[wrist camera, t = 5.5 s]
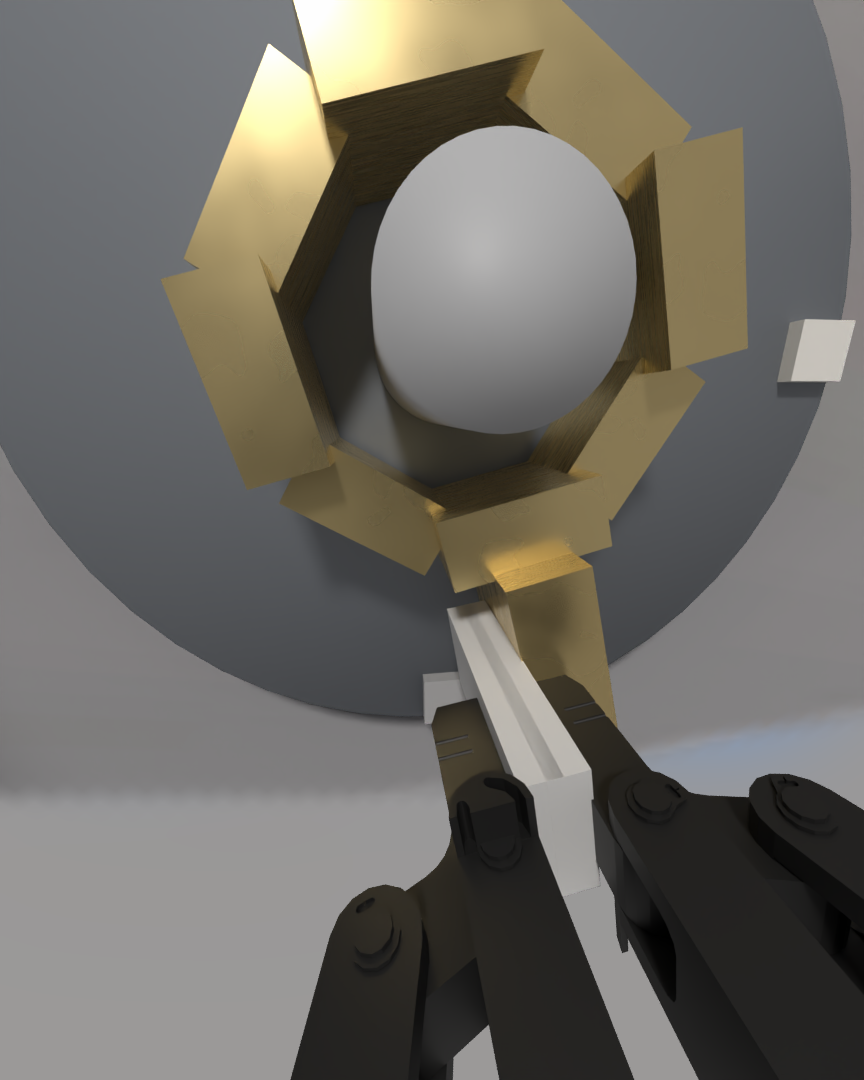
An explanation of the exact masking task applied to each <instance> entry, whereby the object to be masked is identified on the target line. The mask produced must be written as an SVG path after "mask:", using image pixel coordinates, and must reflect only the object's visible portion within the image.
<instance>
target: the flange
mask: <svg viewBox="0 0 864 1080" xmlns="http://www.w3.org/2000/svg"><path fill="white" fill-rule="evenodd" d="M562 1H563V2H564V3H565V4H566V5H567V6H568V7H569V8H570V9H571V10H572V11H573V12H574V13H575V14H577V15H578V16H579V17H580V18H581V19H582V20H583V21H584V22H585V23H586V24H587V25H588V26H589V27H590V28H591V29H592V30H593V31H594V32H595V33H596V34H597V35H598V36H599V37H600V38H601V39H602V40H603V41H604V42H605V43H606V44H607V45H608V46H609V47H610V48H611V49H612V50H613V51H614V52H616V53H617V54H618V55H619V56H620V57H621V58H622V59H623V60H624V61H625V62H626V63H627V64H628V65H629V66H630V67H631V68H632V69H633V70H634V71H635V72H636V73H637V74H638V75H639V76H640V77H641V78H642V79H643V80H644V81H645V82H646V83H647V84H648V85H649V86H650V87H651V88H652V89H653V90H654V91H656V92H657V93H658V94H659V95H660V96H661V97H662V98H663V99H664V100H665V101H666V102H667V103H668V104H669V105H670V106H671V107H672V108H673V109H674V110H675V111H676V112H677V113H678V114H679V115H680V116H681V117H682V118H683V119H684V120H685V121H686V122H687V123H688V124H689V125H690V126H691V129H690V131H689V132H688V134H687V136H686V138H685V139H684V141H683V143H684V142H688V141H692V140H695V139H699V138H703V137H707V136H711V135H715V134H718V133H722V132H726V131H730V130H734V129H738V128H741V127H743V164H744V206H745V248H746V290H747V332H748V349H744V350H740V351H737V352H733V353H730V354H726V355H723V356H719V357H716V358H712V359H709V360H705V361H702V362H698V363H694V364H691V365H687V366H686V367H687V368H688V369H690V370H691V371H692V372H694V373H695V374H696V375H698V376H699V377H700V378H701V379H703V380H704V381H705V384H704V385H703V386H702V388H701V389H700V391H699V392H698V394H697V395H696V397H695V398H694V400H693V401H692V403H691V404H690V406H689V407H688V409H687V410H686V412H685V413H684V415H683V416H682V418H681V419H680V421H679V422H678V423H677V425H676V426H675V428H674V429H673V431H672V432H671V434H670V435H669V437H668V438H667V440H666V441H665V443H664V444H663V446H662V447H661V449H660V450H659V452H658V453H657V455H656V456H655V457H654V459H653V460H652V462H651V463H650V465H649V466H648V468H647V469H646V471H645V472H644V474H643V475H642V477H641V478H640V480H639V481H638V483H637V484H636V486H635V487H634V489H633V490H632V492H631V493H630V494H629V496H628V497H627V499H626V500H625V502H624V503H623V505H622V506H621V508H620V509H619V511H618V512H617V514H616V515H615V517H614V518H613V520H610V519H609V526H610V533H611V540H612V546H611V547H608V548H605V549H601V550H598V551H595V552H591V553H588V554H585V555H581V556H579V557H580V558H581V559H583V560H584V561H586V562H587V563H588V564H590V565H591V566H593V573H594V579H595V585H596V592H597V598H598V605H599V611H600V618H601V624H602V631H603V637H604V644H605V650H606V657H607V663H608V664H610V663H612V662H613V661H615V660H617V659H618V658H620V657H621V656H623V655H624V654H626V653H627V652H629V651H631V650H632V649H634V648H635V647H637V646H638V645H640V644H641V643H643V642H645V641H646V640H648V639H649V638H650V637H651V636H653V635H654V634H655V633H656V632H658V631H659V630H660V629H661V628H663V627H664V626H665V625H666V624H668V623H669V622H670V621H671V620H673V619H674V618H675V617H676V616H678V615H679V614H680V613H681V612H683V611H684V610H685V609H686V608H687V607H688V606H689V605H690V604H691V603H692V602H693V601H694V600H695V599H696V598H697V597H698V596H699V595H700V594H701V593H702V592H703V591H704V590H705V589H706V588H707V587H708V586H709V585H710V584H711V583H712V582H713V581H714V580H715V579H716V578H717V577H718V576H719V574H720V573H721V572H722V571H723V570H724V568H725V567H726V566H727V565H728V564H729V562H730V561H731V560H732V559H733V558H734V556H735V555H736V554H737V553H738V552H739V550H740V549H741V548H742V547H743V545H744V544H745V543H746V542H747V540H748V539H749V537H750V536H751V534H752V533H753V531H754V530H755V528H756V527H757V525H758V524H759V522H760V521H761V519H762V518H763V517H764V515H765V514H766V512H767V511H768V509H769V508H770V506H771V505H772V503H773V502H774V500H775V498H776V496H777V494H778V492H779V491H780V489H781V487H782V485H783V483H784V481H785V479H786V477H787V476H788V474H789V472H790V470H791V468H792V466H793V464H794V463H795V461H796V459H797V457H798V455H799V452H800V450H801V448H802V445H803V443H804V440H805V438H806V436H807V433H808V431H809V428H810V426H811V423H812V421H813V419H814V416H815V414H816V411H817V409H818V406H819V403H820V400H821V397H822V393H823V390H824V387H825V383H826V382H837V381H840V380H841V376H842V372H843V368H844V364H845V360H846V356H847V352H848V349H849V345H850V341H851V337H852V333H853V329H854V325H855V321H856V320H841V318H842V313H843V307H844V302H845V297H846V288H847V277H848V266H849V255H850V244H851V179H850V164H849V156H848V147H847V139H846V131H845V123H844V115H843V107H842V101H841V97H840V93H839V89H838V85H837V80H836V76H835V72H834V68H833V64H832V59H831V55H830V51H829V47H828V43H827V39H826V35H825V32H824V30H823V27H822V24H821V21H820V19H819V16H818V13H817V11H816V8H815V5H814V2H813V0H562ZM268 44H270V45H271V46H272V47H274V48H275V49H276V50H278V51H279V52H280V53H281V54H283V55H284V56H285V57H287V58H288V59H289V60H291V61H292V62H293V63H294V64H296V65H297V66H298V67H300V68H301V69H302V70H303V71H305V72H306V68H305V63H304V59H303V54H302V49H301V44H300V40H299V35H298V30H297V25H296V20H295V16H294V11H293V6H292V1H291V0H0V445H1V447H2V449H3V451H4V453H5V455H6V457H7V459H8V461H9V463H10V465H11V467H12V469H13V470H14V472H15V474H16V475H17V477H18V478H19V480H20V481H21V483H22V484H23V486H24V487H25V489H26V490H27V492H28V493H29V495H30V496H31V498H32V499H33V501H34V502H35V504H36V505H37V507H38V508H39V510H40V511H41V513H42V514H43V516H44V517H45V519H46V520H47V522H48V523H49V525H50V526H51V527H52V528H53V529H54V530H55V532H56V533H57V534H58V535H59V536H60V538H61V539H62V540H63V541H64V542H65V543H66V545H67V546H68V547H69V548H70V549H71V551H72V552H73V553H74V554H75V555H76V556H77V558H78V559H79V560H80V561H81V562H82V563H83V565H84V566H85V567H86V568H87V569H88V571H89V572H90V573H91V574H93V575H94V576H95V577H96V578H97V579H98V580H99V581H100V582H101V583H102V584H103V585H104V586H105V587H106V588H107V589H109V590H110V591H111V592H112V593H113V594H114V595H115V596H116V597H117V598H118V599H119V600H120V601H121V602H122V603H123V604H125V605H126V606H127V607H128V608H129V609H130V610H131V611H132V612H133V613H135V614H136V615H137V616H139V617H140V618H142V619H143V620H144V621H146V622H147V623H148V624H150V625H151V626H152V627H154V628H155V629H156V630H158V631H159V632H160V633H162V634H163V635H164V636H166V637H167V638H168V639H170V640H171V641H172V642H174V643H175V644H177V645H178V646H180V647H182V648H184V649H185V650H187V651H189V652H190V653H192V654H194V655H196V656H197V657H199V658H201V659H203V660H204V661H206V662H208V663H209V664H211V665H213V666H215V667H216V668H218V669H220V670H222V671H224V672H226V673H229V674H231V675H233V676H235V677H238V678H240V679H242V680H244V681H247V682H249V683H251V684H254V685H256V686H258V687H260V688H263V689H265V690H268V691H271V692H274V693H277V694H280V695H284V696H287V697H290V698H293V699H297V700H300V701H303V702H306V703H309V704H313V705H318V706H323V707H329V708H334V709H339V710H344V711H349V712H355V713H363V714H376V715H389V716H402V717H404V716H424V723H425V724H431V723H432V721H433V718H434V715H435V712H436V709H437V707H441V706H445V705H449V704H453V703H457V702H461V701H465V700H466V697H465V694H464V691H463V688H462V685H461V682H460V677H459V671H458V666H457V660H456V655H455V650H454V644H453V639H452V633H451V628H450V623H449V617H448V612H447V609H448V608H453V607H457V606H461V605H466V604H470V603H475V602H479V597H478V593H477V589H476V587H474V588H471V589H467V590H464V591H461V592H457V593H455V592H454V589H453V587H452V585H451V583H450V580H449V578H448V576H447V573H446V571H445V569H444V566H443V564H442V562H441V559H440V557H439V555H438V554H437V556H436V558H435V559H434V561H433V563H432V565H431V566H430V568H429V570H428V571H427V573H426V575H425V576H424V575H422V574H420V573H418V572H416V571H414V570H412V569H410V568H408V567H406V566H404V565H402V564H400V563H398V562H396V561H394V560H392V559H390V558H388V557H386V556H384V555H382V554H380V553H378V552H376V551H374V550H372V549H370V548H368V547H366V546H364V545H362V544H359V543H357V542H355V541H353V540H351V539H349V538H347V537H345V536H343V535H341V534H339V533H337V532H335V531H333V530H331V529H329V528H327V527H325V526H323V525H321V524H319V523H317V522H315V521H313V520H311V519H309V518H307V517H305V516H303V515H301V514H299V513H297V512H295V511H293V510H291V509H289V508H287V507H285V506H283V505H281V504H279V502H280V500H281V498H282V496H283V494H284V492H285V490H286V488H287V486H288V484H289V482H290V480H291V478H288V479H285V480H281V481H277V482H274V483H270V484H267V485H263V486H260V487H256V488H253V489H249V490H247V489H246V487H245V484H244V482H243V479H242V477H241V474H240V472H239V470H238V467H237V465H236V462H235V460H234V457H233V455H232V453H231V450H230V448H229V445H228V443H227V440H226V438H225V435H224V433H223V431H222V428H221V426H220V423H219V421H218V418H217V416H216V414H215V411H214V409H213V406H212V404H211V401H210V399H209V396H208V394H207V392H206V389H205V387H204V384H203V382H202V379H201V377H200V375H199V372H198V370H197V367H196V365H195V362H194V360H193V357H192V355H191V353H190V350H189V348H188V345H187V343H186V340H185V338H184V336H183V333H182V331H181V328H180V326H179V323H178V321H177V318H176V316H175V314H174V311H173V309H172V306H171V304H170V301H169V299H168V297H167V294H166V292H165V289H164V287H163V284H162V282H161V279H162V278H166V277H170V276H174V275H177V274H181V273H185V272H189V271H193V270H197V269H196V268H195V267H193V266H192V265H191V264H189V263H188V262H187V261H186V260H184V256H185V254H186V251H187V249H188V246H189V243H190V241H191V238H192V236H193V233H194V231H195V228H196V226H197V223H198V221H199V218H200V216H201V213H202V211H203V208H204V206H205V203H206V201H207V198H208V195H209V193H210V190H211V188H212V185H213V183H214V180H215V178H216V175H217V173H218V170H219V168H220V165H221V163H222V160H223V158H224V155H225V153H226V150H227V147H228V145H229V142H230V140H231V137H232V135H233V132H234V130H235V127H236V125H237V122H238V120H239V117H240V115H241V112H242V110H243V107H244V105H245V102H246V99H247V97H248V94H249V92H250V89H251V87H252V84H253V82H254V79H255V77H256V74H257V72H258V69H259V67H260V64H261V62H262V59H263V57H264V54H265V52H266V49H267V46H268ZM636 280H637V276H636V257H635V251H634V245H633V239H632V235H631V232H630V228H629V224H628V221H627V218H626V216H625V213H624V211H623V208H622V206H621V204H620V201H619V200H618V198H617V196H616V194H615V193H614V191H613V189H612V187H611V186H610V184H609V183H608V181H607V180H606V179H605V177H604V176H603V175H602V173H601V172H600V171H599V169H598V168H597V167H596V166H595V165H594V164H593V163H592V162H591V161H590V160H589V159H588V158H587V157H586V156H585V155H583V154H582V153H581V152H579V151H578V150H577V149H575V148H574V147H572V146H571V145H570V144H568V143H566V142H564V141H563V140H561V139H559V138H557V137H555V136H553V135H551V134H548V133H545V132H542V131H539V130H536V129H531V128H525V127H519V126H494V127H488V128H482V129H477V130H474V131H471V132H468V133H466V134H463V135H460V136H458V137H456V138H454V139H452V140H450V141H448V142H447V143H445V144H443V145H441V146H440V147H438V148H437V149H436V150H434V151H433V152H432V153H430V154H429V155H428V156H427V157H425V158H424V159H423V160H422V161H421V162H420V163H419V164H418V165H417V166H416V167H415V168H414V169H413V170H412V171H411V172H410V174H409V175H408V176H407V178H406V179H405V180H404V182H403V183H402V185H401V186H400V187H399V189H398V190H397V192H396V194H395V196H394V197H393V198H389V199H385V200H381V201H378V202H374V203H370V204H366V205H362V206H358V207H356V208H355V210H354V213H353V215H352V217H351V219H350V221H349V223H348V226H347V228H346V230H345V232H344V234H343V236H342V238H341V241H340V243H339V245H338V247H337V249H336V251H335V254H334V256H333V258H332V260H331V262H330V264H329V266H328V269H327V271H326V273H325V275H324V277H323V279H322V282H321V284H320V286H319V288H318V290H317V292H316V294H315V297H314V299H313V301H312V303H311V305H310V307H309V309H308V312H307V314H306V316H305V318H304V320H303V325H304V329H305V332H306V335H307V338H308V341H309V344H310V347H311V350H312V353H313V356H314V359H315V362H316V365H317V368H318V372H319V375H320V378H321V381H322V384H323V387H324V390H325V393H326V396H327V399H328V402H329V405H330V408H331V411H332V415H333V418H334V421H335V424H336V427H337V430H338V433H339V436H340V438H342V439H344V440H345V441H347V442H349V443H351V444H353V445H354V446H356V447H358V448H360V449H362V450H363V451H365V452H367V453H369V454H371V455H372V456H374V457H376V458H378V459H379V460H381V461H383V462H385V463H387V464H388V465H390V466H392V467H394V468H396V469H397V470H399V471H401V472H403V473H405V474H406V475H408V476H410V477H412V478H414V479H415V480H417V481H419V482H421V483H422V484H424V485H426V486H428V487H430V488H431V489H432V488H436V487H439V486H442V485H446V484H449V483H453V482H456V481H460V480H463V479H467V478H470V477H474V476H477V475H481V474H484V473H488V472H491V471H495V470H498V469H502V468H505V467H508V466H512V465H515V464H519V463H522V462H526V461H528V459H529V458H530V456H531V454H532V453H533V451H534V449H535V448H536V446H537V445H538V443H539V441H540V440H541V438H542V436H543V435H544V433H545V431H546V430H547V428H548V427H549V425H550V423H552V422H553V421H555V420H557V419H559V418H561V417H563V416H565V415H566V414H567V413H569V412H570V411H572V410H573V409H575V408H576V407H577V406H579V405H580V404H581V403H582V402H583V401H584V400H585V399H586V398H587V397H589V396H590V395H591V393H592V392H593V391H594V390H595V389H596V388H597V387H598V386H599V384H600V383H601V382H602V381H603V379H604V378H605V376H606V375H607V373H608V372H609V371H610V369H611V368H612V366H613V364H614V362H615V360H616V358H617V356H618V355H619V353H620V351H621V348H622V346H623V343H624V341H625V338H626V336H627V333H628V329H629V326H630V322H631V319H632V314H633V309H634V303H635V296H636Z"/></svg>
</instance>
